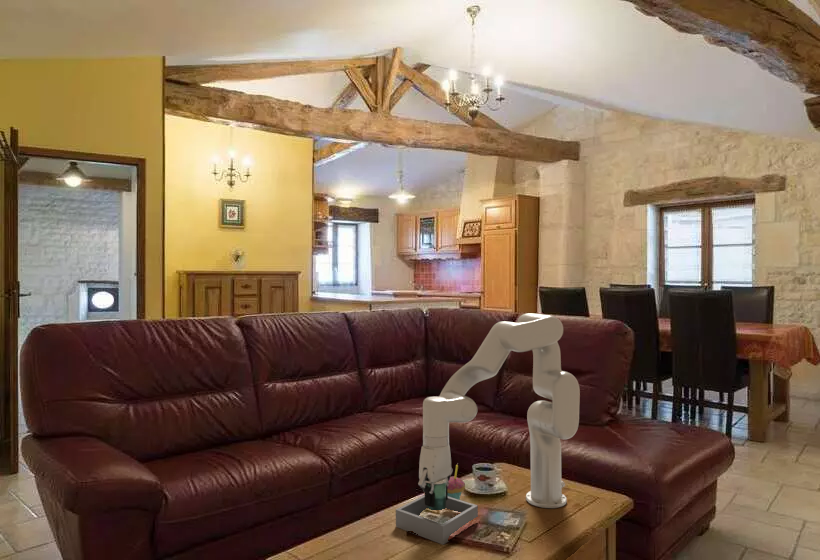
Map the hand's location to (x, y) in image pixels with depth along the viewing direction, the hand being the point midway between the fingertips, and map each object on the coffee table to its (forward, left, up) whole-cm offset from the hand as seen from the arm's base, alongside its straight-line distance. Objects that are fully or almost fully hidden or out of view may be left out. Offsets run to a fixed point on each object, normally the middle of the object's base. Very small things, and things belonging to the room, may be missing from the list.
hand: (436, 501), depth 163 cm
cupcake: (-17, -7, -7) cm, 20 cm away
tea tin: (0, 0, -1) cm, 1 cm away
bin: (0, 0, -7) cm, 7 cm away
